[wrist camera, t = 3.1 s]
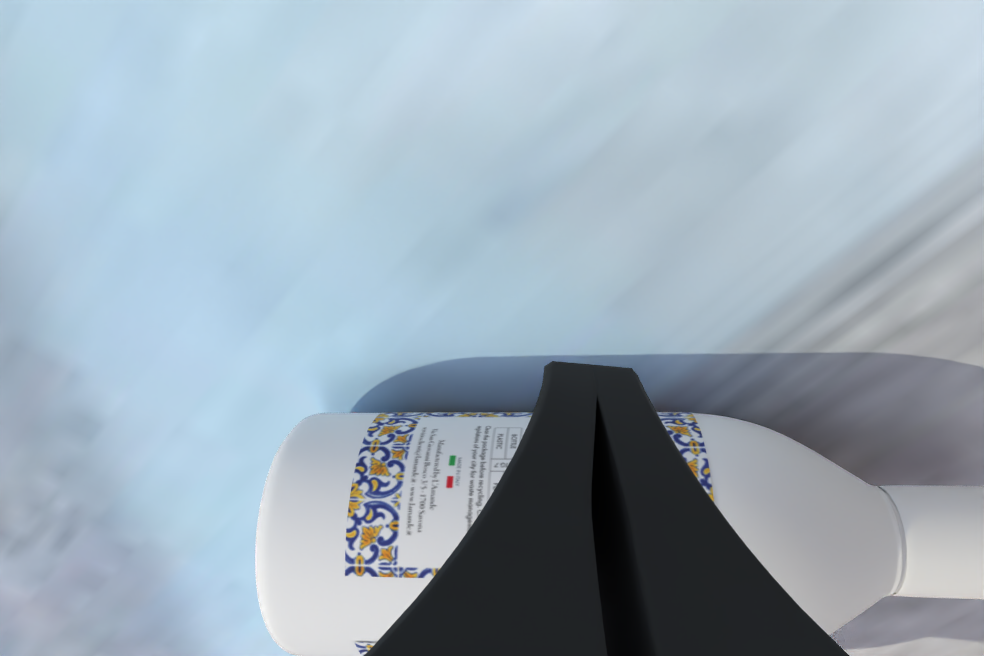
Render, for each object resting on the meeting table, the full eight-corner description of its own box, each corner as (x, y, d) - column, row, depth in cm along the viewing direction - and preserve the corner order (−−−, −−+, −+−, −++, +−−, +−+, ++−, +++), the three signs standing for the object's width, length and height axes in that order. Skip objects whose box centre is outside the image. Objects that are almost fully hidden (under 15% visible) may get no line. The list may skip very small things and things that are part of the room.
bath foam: (346, 556, 25) (933, 570, 23) (269, 715, 19) (1078, 755, 17) (323, 378, 23) (966, 374, 21) (227, 486, 17) (1146, 497, 14)
